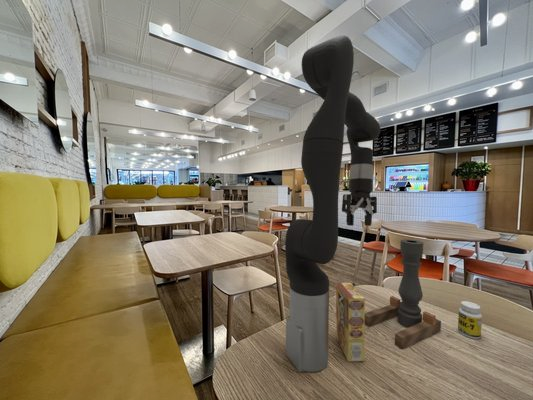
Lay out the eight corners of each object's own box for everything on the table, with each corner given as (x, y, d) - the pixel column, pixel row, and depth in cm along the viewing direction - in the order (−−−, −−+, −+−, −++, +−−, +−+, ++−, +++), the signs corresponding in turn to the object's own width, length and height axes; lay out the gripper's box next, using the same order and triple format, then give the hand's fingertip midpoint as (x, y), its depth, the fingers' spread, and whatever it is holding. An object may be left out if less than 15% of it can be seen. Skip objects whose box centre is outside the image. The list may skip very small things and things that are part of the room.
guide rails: (403, 350, 55) (404, 329, 55) (362, 322, 67) (362, 305, 66) (441, 331, 62) (442, 312, 62) (398, 309, 74) (399, 293, 74)
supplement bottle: (454, 331, 63) (455, 302, 62) (463, 326, 65) (464, 298, 64) (475, 341, 58) (477, 310, 58) (484, 336, 60) (485, 306, 60)
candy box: (365, 362, 51) (366, 298, 51) (347, 362, 51) (348, 298, 51) (350, 336, 60) (351, 282, 60) (334, 337, 60) (335, 282, 59)
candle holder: (414, 317, 69) (416, 239, 68) (426, 330, 63) (429, 244, 62) (393, 316, 70) (395, 238, 69) (403, 328, 64) (406, 243, 63)
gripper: (354, 175, 69) (352, 226, 69) (384, 179, 75) (382, 226, 75) (337, 177, 76) (335, 224, 76) (366, 181, 82) (364, 224, 82)
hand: (359, 225), depth 75 cm, fingers open, 8 cm apart
